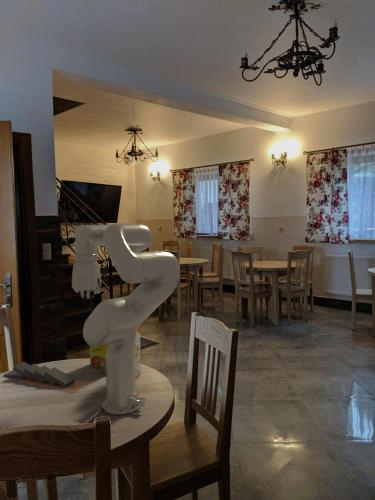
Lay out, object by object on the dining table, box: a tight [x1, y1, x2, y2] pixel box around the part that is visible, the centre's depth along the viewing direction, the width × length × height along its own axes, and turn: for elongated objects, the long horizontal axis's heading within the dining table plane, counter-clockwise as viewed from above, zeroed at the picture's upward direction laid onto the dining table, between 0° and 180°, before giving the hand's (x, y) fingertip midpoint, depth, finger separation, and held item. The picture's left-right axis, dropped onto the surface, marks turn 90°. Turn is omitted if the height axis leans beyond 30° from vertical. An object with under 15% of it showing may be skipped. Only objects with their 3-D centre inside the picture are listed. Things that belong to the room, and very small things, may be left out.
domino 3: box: [24, 363, 46, 384], centre depth 146 cm, size 2×5×10 cm
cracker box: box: [135, 325, 141, 382], centre depth 144 cm, size 14×6×21 cm, turn 168°
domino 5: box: [44, 366, 76, 388], centre depth 142 cm, size 2×5×10 cm
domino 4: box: [34, 365, 57, 386], centre depth 144 cm, size 2×5×10 cm
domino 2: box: [12, 361, 36, 381], centre depth 148 cm, size 2×5×10 cm
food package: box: [89, 344, 109, 374], centre depth 156 cm, size 15×1×20 cm, turn 42°
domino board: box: [17, 378, 89, 394], centre depth 144 cm, size 26×9×1 cm, turn 68°
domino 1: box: [3, 369, 26, 381], centre depth 150 cm, size 2×5×10 cm
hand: (87, 308), depth 142 cm, fingers closed
